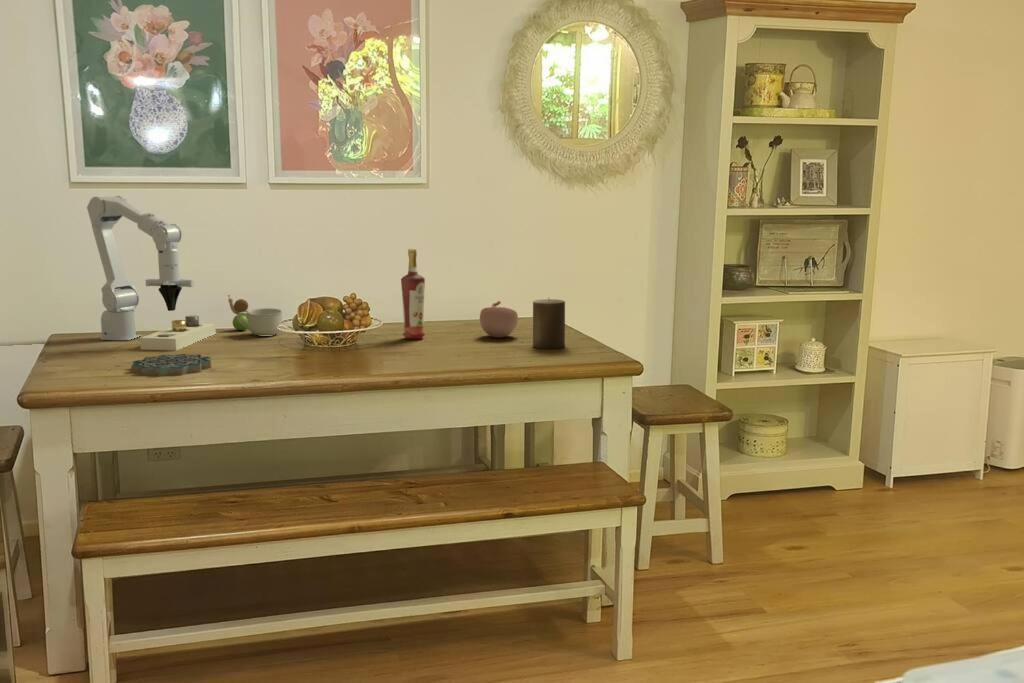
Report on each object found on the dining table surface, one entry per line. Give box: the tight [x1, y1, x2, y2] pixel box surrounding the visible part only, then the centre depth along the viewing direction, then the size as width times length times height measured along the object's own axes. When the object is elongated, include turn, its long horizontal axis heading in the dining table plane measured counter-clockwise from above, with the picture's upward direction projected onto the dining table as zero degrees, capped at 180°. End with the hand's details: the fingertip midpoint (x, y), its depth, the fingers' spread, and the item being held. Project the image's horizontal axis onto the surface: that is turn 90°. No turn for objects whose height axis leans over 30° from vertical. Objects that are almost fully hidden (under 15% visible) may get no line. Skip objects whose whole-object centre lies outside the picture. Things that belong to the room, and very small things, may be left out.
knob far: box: [184, 315, 200, 327], centre depth 303 cm, size 4×4×3 cm
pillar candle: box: [532, 298, 566, 350], centre depth 287 cm, size 10×10×15 cm
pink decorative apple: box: [479, 300, 519, 339], centre depth 302 cm, size 12×12×12 cm
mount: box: [139, 323, 217, 351], centre depth 295 cm, size 11×27×4 cm, turn 173°
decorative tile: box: [131, 353, 212, 377], centre depth 257 cm, size 20×20×2 cm
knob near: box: [158, 334, 172, 337], centre depth 286 cm, size 4×4×3 cm
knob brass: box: [171, 319, 186, 332], centre depth 294 cm, size 4×4×3 cm
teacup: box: [237, 307, 283, 336], centre depth 306 cm, size 14×11×8 cm
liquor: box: [400, 248, 426, 341], centre depth 298 cm, size 7×7×28 cm
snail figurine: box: [227, 294, 249, 331], centre depth 314 cm, size 5×6×12 cm
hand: (171, 310), depth 289 cm, fingers closed
